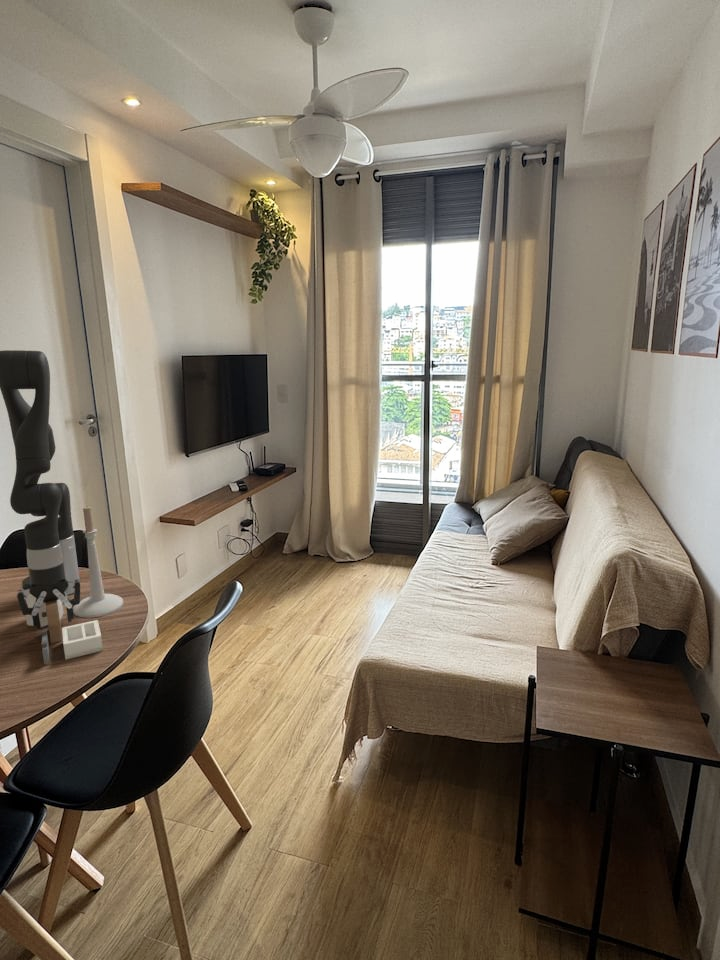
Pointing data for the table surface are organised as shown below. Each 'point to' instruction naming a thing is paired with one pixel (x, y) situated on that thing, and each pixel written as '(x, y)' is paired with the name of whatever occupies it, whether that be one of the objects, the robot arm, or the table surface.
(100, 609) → the candlestick
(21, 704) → the table surface
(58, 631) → the door
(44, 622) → the jar
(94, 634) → the cabinet
